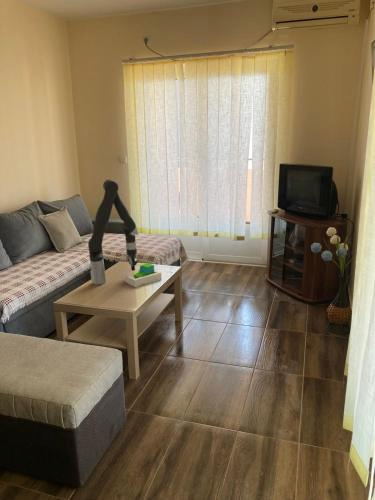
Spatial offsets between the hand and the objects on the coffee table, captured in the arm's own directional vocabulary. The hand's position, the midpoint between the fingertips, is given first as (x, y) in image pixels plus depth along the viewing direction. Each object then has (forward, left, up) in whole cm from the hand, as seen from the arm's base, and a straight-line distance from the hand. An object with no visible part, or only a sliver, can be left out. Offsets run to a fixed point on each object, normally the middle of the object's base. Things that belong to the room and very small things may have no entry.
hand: (133, 270), depth 295 cm
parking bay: (0, -13, -5) cm, 14 cm away
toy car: (+2, -11, -5) cm, 12 cm away
